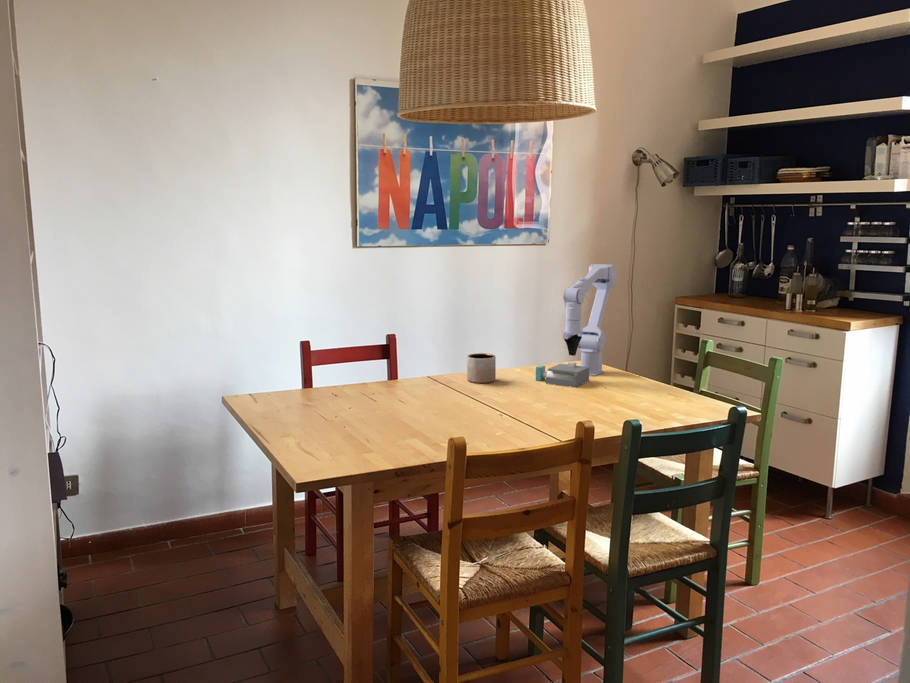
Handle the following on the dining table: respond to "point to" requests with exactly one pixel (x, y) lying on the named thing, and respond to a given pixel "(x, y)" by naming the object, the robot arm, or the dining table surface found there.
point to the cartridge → (551, 374)
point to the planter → (481, 368)
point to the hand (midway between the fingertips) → (572, 355)
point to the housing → (579, 373)
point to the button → (572, 364)
